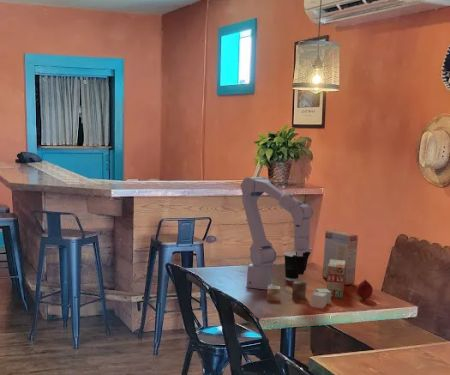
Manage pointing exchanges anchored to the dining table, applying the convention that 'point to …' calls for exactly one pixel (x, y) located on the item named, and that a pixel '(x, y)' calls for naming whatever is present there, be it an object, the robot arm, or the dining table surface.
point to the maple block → (273, 293)
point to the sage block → (326, 293)
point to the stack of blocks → (336, 278)
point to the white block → (318, 299)
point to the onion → (364, 290)
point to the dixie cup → (290, 267)
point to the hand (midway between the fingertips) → (301, 272)
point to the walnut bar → (299, 290)
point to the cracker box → (341, 252)
